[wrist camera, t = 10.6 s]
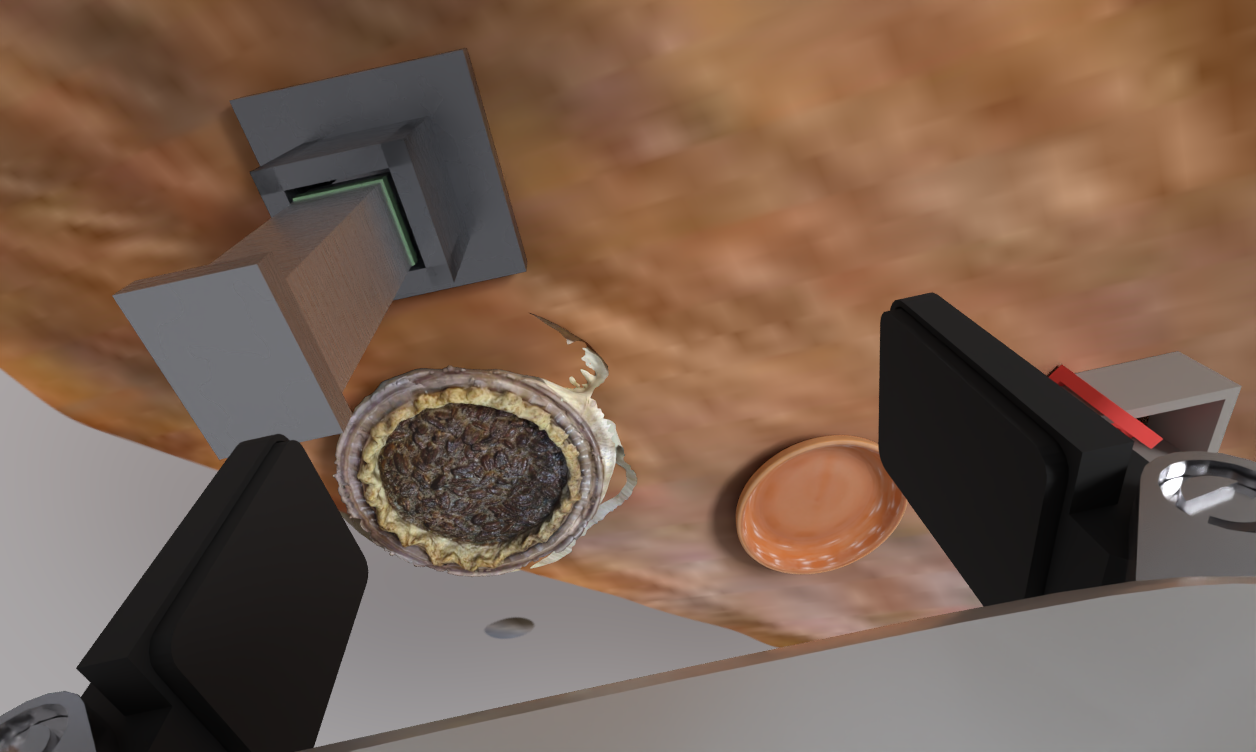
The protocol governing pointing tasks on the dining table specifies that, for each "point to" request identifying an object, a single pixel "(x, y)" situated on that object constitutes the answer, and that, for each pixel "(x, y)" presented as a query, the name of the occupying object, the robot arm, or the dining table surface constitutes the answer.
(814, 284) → the dining table surface
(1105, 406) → the bracket
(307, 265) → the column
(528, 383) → the pie
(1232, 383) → the bracket rest
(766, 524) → the saucer
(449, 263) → the stand
